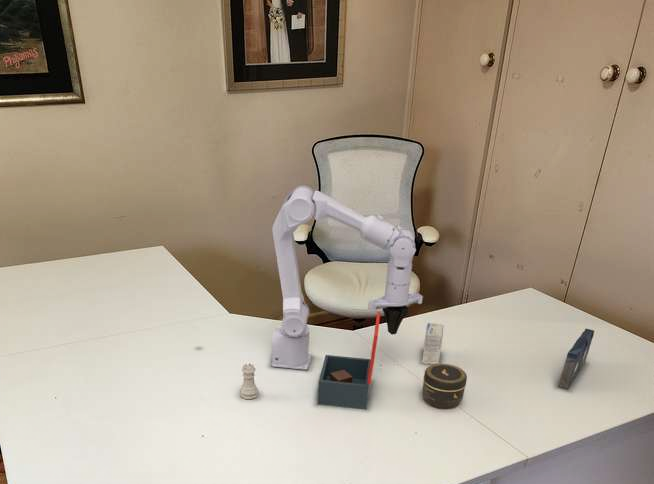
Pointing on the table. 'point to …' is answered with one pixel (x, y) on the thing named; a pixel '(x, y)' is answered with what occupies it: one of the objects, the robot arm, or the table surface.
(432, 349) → the medicine box
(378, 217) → the robot arm
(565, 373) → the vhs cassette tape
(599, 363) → the table surface
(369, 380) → the lid
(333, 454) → the table surface
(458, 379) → the jar
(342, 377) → the block
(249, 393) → the rook chess piece
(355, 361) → the dark grey open box
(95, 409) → the table surface
